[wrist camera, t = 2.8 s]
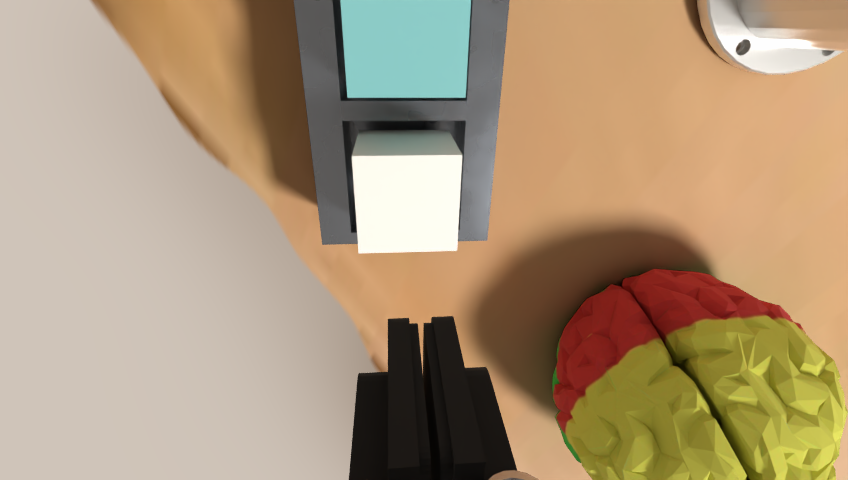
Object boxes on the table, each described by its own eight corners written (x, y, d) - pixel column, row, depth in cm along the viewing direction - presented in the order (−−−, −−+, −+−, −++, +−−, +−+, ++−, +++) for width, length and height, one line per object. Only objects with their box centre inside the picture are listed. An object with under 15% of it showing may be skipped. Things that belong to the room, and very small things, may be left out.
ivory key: (448, 129, 23) (462, 154, 19) (445, 211, 26) (457, 250, 21) (358, 130, 23) (351, 155, 18) (364, 212, 25) (358, 253, 21)
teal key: (454, -29, 20) (473, -44, 15) (450, 82, 22) (465, 97, 18) (348, -31, 19) (337, -47, 15) (356, 82, 22) (347, 97, 17)
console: (507, -254, 19) (540, -331, 15) (473, 210, 29) (487, 240, 25) (282, -268, 18) (252, -352, 14) (331, 213, 29) (322, 244, 25)
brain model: (766, 403, 41) (944, 577, 28) (587, 470, 44) (668, 657, 31) (724, 211, 32) (960, 331, 18) (501, 312, 35) (563, 479, 22)
